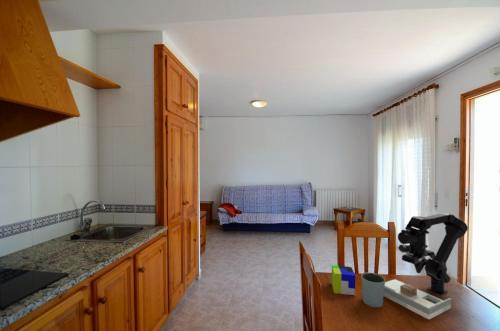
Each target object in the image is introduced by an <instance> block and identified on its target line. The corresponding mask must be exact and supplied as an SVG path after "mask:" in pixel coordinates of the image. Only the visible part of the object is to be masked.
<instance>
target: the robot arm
mask: <svg viewBox="0 0 500 331" xmlns="http://www.w3.org/2000/svg"><path fill="white" fill-rule="evenodd" d="M440 224H443V225H444V226H445V227H444V231H445V236H444V238H443V239H442V241H441V243H440V246H439V247H438V249H437V252H436V253H435V252H434V251H432V250H429V249H427V248H429V246H428V244H427V235H428V234H430V232H429V231H428V230H429V229H431V227H432V226H435V225H436V226H437V225H440ZM468 229H469V226H468V224H467V223H466V222H464V221H463V220H461V219H459V218H458V217H456V216H455V214H452V213H449V212H441V213H437V214H433V215H428V216H417V215H415V216H412V217H411V218H410V219H409V221H408V223H407V224H406V226H405V228H404V229H401V230H400V232H399V233H398V234H397V240H398V242H399V243H400V244H399V245H398V250H399V251H400V252H401V253H405V254H402V255H401V261H403V262H406V263H409V264H412V265H413V266H414V269H415V272H416V273H417V274H421V272H422V270H424V271H425V274H426V276H427V277H430V286H429V287H427V290H429V291H431V292H434V293H436V294H438V295H441V296H442V295H445V294H446V293H448V290H447V289H446V288H445V284H448V283H450V281H451V277H450V276H449V274H448V273H447V270H448V268H447V261H448V260H449V257H450V255H451V253H452V251H453V249H454V247H455V246H456V243H457V241H458V239H460V238H463V237H464V236H465V235H466V233H467V231H468ZM428 256H429V258H428V259H426V257H428Z"/></svg>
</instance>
